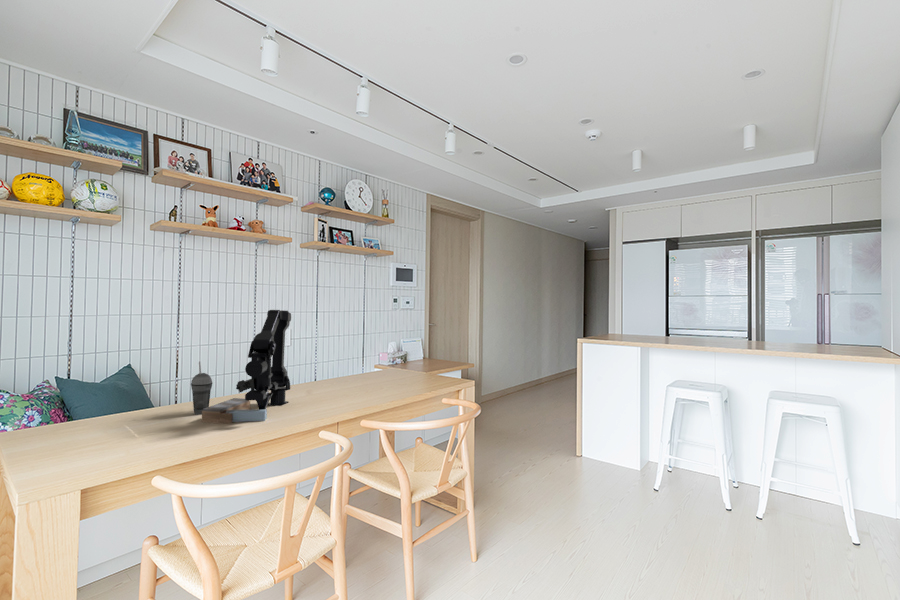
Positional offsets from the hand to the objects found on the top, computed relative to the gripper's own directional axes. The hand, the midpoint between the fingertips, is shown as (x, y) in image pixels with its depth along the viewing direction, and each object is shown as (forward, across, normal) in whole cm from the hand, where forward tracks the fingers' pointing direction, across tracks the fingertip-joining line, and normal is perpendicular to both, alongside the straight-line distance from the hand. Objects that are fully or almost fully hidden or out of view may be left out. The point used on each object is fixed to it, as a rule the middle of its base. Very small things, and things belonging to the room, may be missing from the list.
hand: (261, 413), depth 158 cm
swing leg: (+1, +3, -5) cm, 6 cm away
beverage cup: (+2, -8, -25) cm, 26 cm away
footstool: (+2, -3, -12) cm, 12 cm away
